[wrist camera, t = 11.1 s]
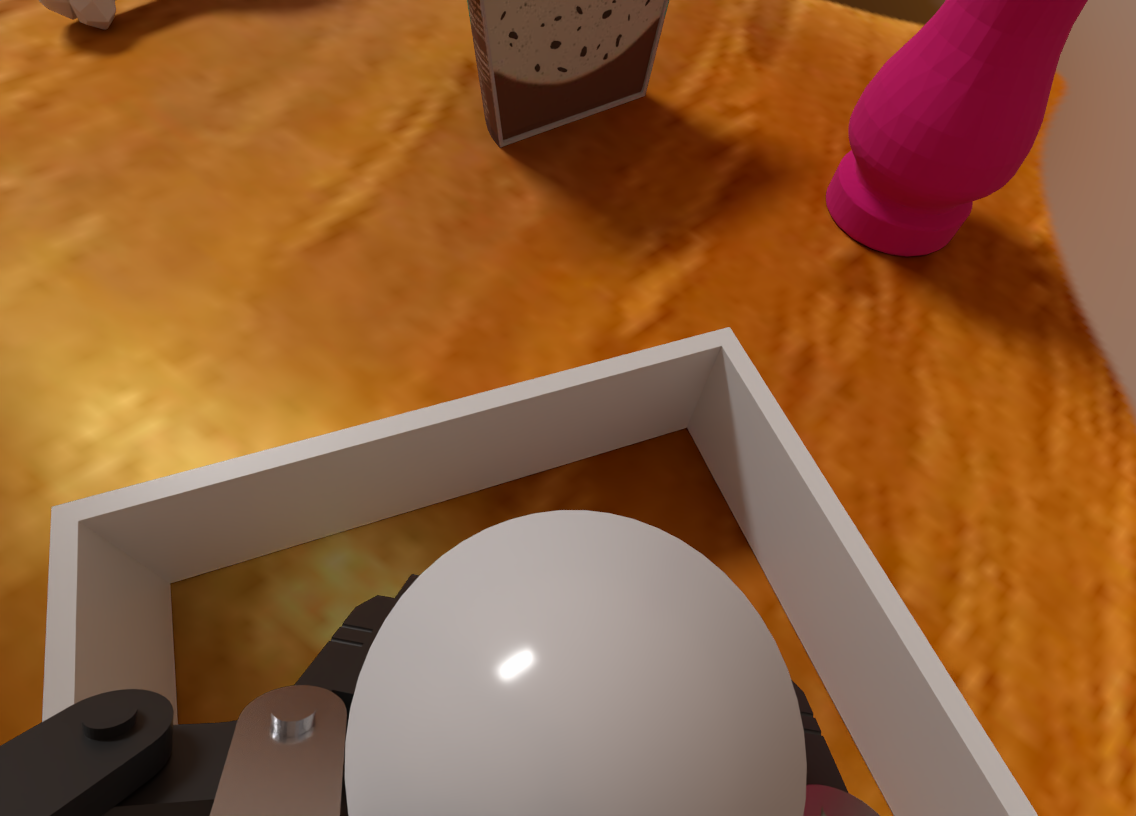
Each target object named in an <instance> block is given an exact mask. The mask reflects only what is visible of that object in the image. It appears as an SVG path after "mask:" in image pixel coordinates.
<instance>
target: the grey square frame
mask: <svg viewBox="0 0 1136 816" xmlns="http://www.w3.org/2000/svg"><path fill="white" fill-rule="evenodd" d="M684 428H687V429H688V431H689V433H690V434H691V436H692V438H693V440H694V442H695V444H696V446H697V447H698V449H699V451H700V453H701V455H702V457H703V459H704V461H705V462H706V464H707V466H708V468H709V470H710V472H711V474H712V476H713V477H714V479H715V481H716V483H717V485H718V487H719V489H720V491H721V492H722V494H723V496H724V498H725V500H726V502H727V504H728V506H729V507H730V509H731V511H732V513H733V515H734V517H735V519H736V521H737V522H738V524H739V526H740V528H741V530H742V532H743V534H744V536H745V537H746V539H747V541H748V543H749V545H750V547H751V549H752V550H753V552H754V554H755V556H756V558H757V560H758V562H759V564H760V565H761V567H762V569H763V571H764V573H765V575H766V577H767V579H768V580H769V582H770V584H771V586H772V588H773V590H774V592H775V594H776V595H777V597H778V599H779V601H780V603H781V605H782V607H783V609H784V610H785V612H786V614H787V616H788V618H789V620H790V622H791V624H792V625H793V627H794V629H795V631H796V633H797V635H798V637H799V639H800V640H801V642H802V644H803V646H804V648H805V650H806V652H807V654H808V655H809V657H810V659H811V661H812V663H813V665H814V667H815V668H816V670H817V672H818V674H819V676H820V678H821V680H822V682H823V683H824V685H825V687H826V689H827V691H828V693H829V695H830V697H831V698H832V700H833V702H834V704H835V706H836V708H837V710H838V712H839V713H840V715H841V717H842V719H843V721H844V723H845V725H846V727H847V728H848V730H849V732H850V734H851V736H852V738H853V740H854V742H855V743H856V745H857V747H858V749H859V751H860V753H861V755H862V757H863V758H864V760H865V762H866V764H867V766H868V768H869V770H870V771H871V773H872V775H873V777H874V779H875V781H876V783H877V785H878V786H879V788H880V790H881V792H882V794H883V796H884V798H885V800H886V801H887V803H888V805H889V807H890V809H891V811H892V813H893V815H894V816H1038V815H1037V813H1036V812H1035V810H1034V808H1033V807H1032V805H1031V804H1030V802H1029V801H1028V799H1027V797H1026V796H1025V794H1024V793H1023V791H1022V789H1021V788H1020V786H1019V785H1018V783H1017V782H1016V780H1015V778H1014V777H1013V775H1012V774H1011V772H1010V770H1009V769H1008V767H1007V766H1006V764H1005V763H1004V761H1003V759H1002V758H1001V756H1000V755H999V753H998V751H997V750H996V748H995V747H994V745H993V744H992V742H991V740H990V739H989V737H988V736H987V734H986V732H985V731H984V729H983V728H982V726H981V725H980V723H979V721H978V720H977V718H976V717H975V715H974V713H973V712H972V710H971V709H970V707H969V705H968V704H967V702H966V701H965V699H964V698H963V696H962V694H961V693H960V691H959V690H958V688H957V686H956V685H955V683H954V682H953V680H952V679H951V677H950V675H949V674H948V672H947V671H946V669H945V667H944V666H943V664H942V663H941V661H940V660H939V658H938V656H937V655H936V653H935V652H934V650H933V648H932V647H931V645H930V644H929V642H928V641H927V639H926V637H925V636H924V634H923V633H922V631H921V629H920V628H919V626H918V625H917V623H916V622H915V620H914V618H913V617H912V615H911V614H910V612H909V610H908V609H907V607H906V606H905V604H904V603H903V601H902V599H901V598H900V596H899V595H898V593H897V591H896V590H895V588H894V587H893V585H892V583H891V582H890V580H889V579H888V577H887V576H886V574H885V572H884V571H883V569H882V568H881V566H880V564H879V563H878V561H877V560H876V558H875V557H874V555H873V553H872V552H871V550H870V549H869V547H868V545H867V544H866V542H865V541H864V539H863V538H862V536H861V534H860V533H859V531H858V530H857V528H856V526H855V525H854V523H853V522H852V520H851V519H850V517H849V515H848V514H847V512H846V511H845V509H844V507H843V506H842V504H841V503H840V501H839V500H838V498H837V496H836V495H835V493H834V492H833V490H832V488H831V487H830V485H829V484H828V482H827V481H826V479H825V477H824V476H823V474H822V473H821V471H820V469H819V468H818V466H817V465H816V463H815V461H814V460H813V458H812V457H811V455H810V454H809V452H808V450H807V449H806V447H805V446H804V444H803V442H802V441H801V439H800V438H799V436H798V435H797V433H796V431H795V430H794V428H793V427H792V425H791V423H790V422H789V420H788V419H787V417H786V416H785V414H784V412H783V411H782V409H781V408H780V406H779V404H778V403H777V401H776V400H775V398H774V397H773V395H772V393H771V392H770V390H769V389H768V387H767V385H766V384H765V382H764V381H763V379H762V378H761V376H760V374H759V373H758V371H757V370H756V368H755V366H754V365H753V363H752V362H751V360H750V359H749V357H748V355H747V354H746V352H745V351H744V349H743V347H742V346H741V344H740V343H739V341H738V339H737V338H736V336H735V335H734V333H733V332H732V330H731V328H730V327H728V328H724V329H720V330H716V331H713V332H709V333H705V334H701V335H698V336H694V337H690V338H686V339H682V340H679V341H675V342H671V343H667V344H664V345H660V346H656V347H652V348H648V349H645V350H641V351H637V352H633V353H630V354H626V355H622V356H618V357H615V358H611V359H607V360H603V361H599V362H596V363H592V364H588V365H584V366H581V367H577V368H573V369H569V370H566V371H562V372H558V373H554V374H550V375H547V376H543V377H539V378H535V379H532V380H528V381H524V382H520V383H517V384H513V385H509V386H505V387H501V388H498V389H494V390H490V391H486V392H483V393H479V394H475V395H471V396H468V397H464V398H460V399H456V400H452V401H449V402H445V403H441V404H437V405H434V406H430V407H426V408H422V409H419V410H415V411H411V412H407V413H403V414H400V415H396V416H392V417H388V418H385V419H381V420H377V421H373V422H370V423H366V424H362V425H358V426H354V427H351V428H347V429H343V430H339V431H336V432H332V433H328V434H324V435H321V436H317V437H313V438H309V439H305V440H302V441H298V442H294V443H290V444H287V445H283V446H279V447H275V448H272V449H268V450H264V451H260V452H256V453H253V454H249V455H245V456H241V457H238V458H234V459H230V460H226V461H223V462H219V463H215V464H211V465H207V466H204V467H200V468H196V469H192V470H189V471H185V472H181V473H177V474H173V475H170V476H166V477H162V478H158V479H155V480H151V481H147V482H143V483H140V484H136V485H132V486H128V487H124V488H121V489H117V490H113V491H109V492H106V493H102V494H98V495H94V496H91V497H87V498H83V499H79V500H75V501H72V502H68V503H64V504H60V505H57V506H53V507H52V510H51V533H50V555H49V578H48V601H47V623H46V646H45V669H44V691H43V714H42V722H43V721H45V720H47V719H48V718H50V717H52V716H54V715H55V714H57V713H59V712H61V711H62V710H64V709H66V708H68V707H69V706H71V705H73V704H75V703H77V702H79V701H81V700H84V699H86V698H89V697H91V696H95V695H98V694H101V693H105V692H110V691H115V690H123V689H142V690H148V691H153V692H156V693H159V694H161V695H162V696H164V697H166V698H167V699H168V700H169V701H170V703H171V704H172V706H173V711H174V715H173V725H178V717H177V698H176V680H175V661H174V642H173V624H172V605H171V586H170V583H174V582H177V581H180V580H184V579H187V578H190V577H194V576H197V575H200V574H204V573H207V572H210V571H213V570H217V569H220V568H223V567H227V566H230V565H233V564H237V563H240V562H243V561H247V560H250V559H253V558H257V557H260V556H263V555H266V554H270V553H273V552H276V551H280V550H283V549H286V548H290V547H293V546H296V545H300V544H303V543H306V542H310V541H313V540H316V539H319V538H323V537H326V536H329V535H333V534H336V533H339V532H343V531H346V530H349V529H353V528H356V527H359V526H363V525H366V524H369V523H373V522H376V521H379V520H382V519H386V518H389V517H392V516H396V515H399V514H402V513H406V512H409V511H412V510H416V509H419V508H422V507H426V506H429V505H432V504H435V503H439V502H442V501H445V500H449V499H452V498H455V497H459V496H462V495H465V494H469V493H472V492H475V491H479V490H482V489H485V488H488V487H492V486H495V485H498V484H502V483H505V482H508V481H512V480H515V479H518V478H522V477H525V476H528V475H532V474H535V473H538V472H542V471H545V470H548V469H551V468H555V467H558V466H561V465H565V464H568V463H571V462H575V461H578V460H581V459H585V458H588V457H591V456H595V455H598V454H601V453H604V452H608V451H611V450H614V449H618V448H621V447H624V446H628V445H631V444H634V443H638V442H641V441H644V440H648V439H651V438H654V437H657V436H661V435H664V434H667V433H671V432H674V431H677V430H681V429H684Z"/></svg>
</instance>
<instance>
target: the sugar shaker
mask: <svg viewBox="0 0 1136 816" xmlns="http://www.w3.org/2000/svg"><path fill="white" fill-rule="evenodd" d="M806 774H807V762H806V750H805V738H804V730H803V725H802V720H801V715H800V710H799V705H798V700H797V697H796V694H795V691H794V687H793V684H792V681H791V678H790V675H789V672H788V669H787V667H786V664H785V662H784V660H783V658H782V656H781V653H780V651H779V649H778V647H777V644H776V642H775V640H774V639H773V637H772V635H771V634H770V632H769V630H768V628H767V627H766V625H765V623H764V622H763V620H762V618H761V616H760V615H759V614H758V612H757V611H756V610H755V608H754V607H753V606H752V604H751V603H750V602H749V600H748V599H747V598H746V596H745V595H744V594H743V592H742V591H741V590H740V589H739V588H738V587H737V586H736V585H735V584H734V583H733V582H732V581H731V580H730V579H729V577H728V576H727V575H726V574H725V573H724V572H723V571H722V570H720V569H719V568H718V567H717V566H716V565H714V564H713V563H712V562H711V561H710V560H709V559H707V558H706V557H705V556H704V555H703V554H701V553H700V552H698V551H697V550H695V549H694V548H692V547H691V546H689V545H688V544H686V543H685V542H683V541H682V540H680V539H678V538H676V537H674V536H672V535H670V534H668V533H667V532H665V531H663V530H661V529H659V528H656V527H654V526H651V525H648V524H646V523H643V522H640V521H638V520H635V519H632V518H627V517H623V516H619V515H615V514H611V513H604V512H596V511H588V510H557V511H549V512H541V513H534V514H530V515H526V516H522V517H518V518H514V519H510V520H507V521H505V522H502V523H500V524H497V525H494V526H492V527H489V528H487V529H485V530H483V531H481V532H479V533H477V534H475V535H473V536H472V537H470V538H468V539H466V540H464V541H462V542H461V543H459V544H458V545H457V546H455V547H454V548H452V549H451V550H449V551H448V552H447V553H445V554H444V555H442V556H441V557H440V558H439V559H438V560H436V561H435V562H434V563H433V564H432V565H431V566H430V567H429V568H427V569H426V570H425V571H424V572H423V573H422V574H421V575H420V576H419V577H418V578H417V579H416V580H415V581H414V583H413V584H412V585H411V586H410V587H409V588H408V589H407V590H406V592H405V593H404V594H403V595H402V596H401V598H400V599H399V600H398V602H397V603H396V605H395V606H394V608H393V609H392V611H391V612H390V613H389V615H388V616H387V618H386V619H385V621H384V622H383V624H382V626H381V628H380V630H379V632H378V634H377V636H376V637H375V639H374V641H373V643H372V645H371V647H370V649H369V652H368V654H367V657H366V659H365V662H364V664H363V667H362V669H361V672H360V675H359V677H358V681H357V685H356V689H355V692H354V696H353V700H352V704H351V707H350V713H349V720H348V727H347V734H346V742H345V787H346V797H347V807H348V815H349V816H803V814H804V808H805V801H806Z"/></svg>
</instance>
